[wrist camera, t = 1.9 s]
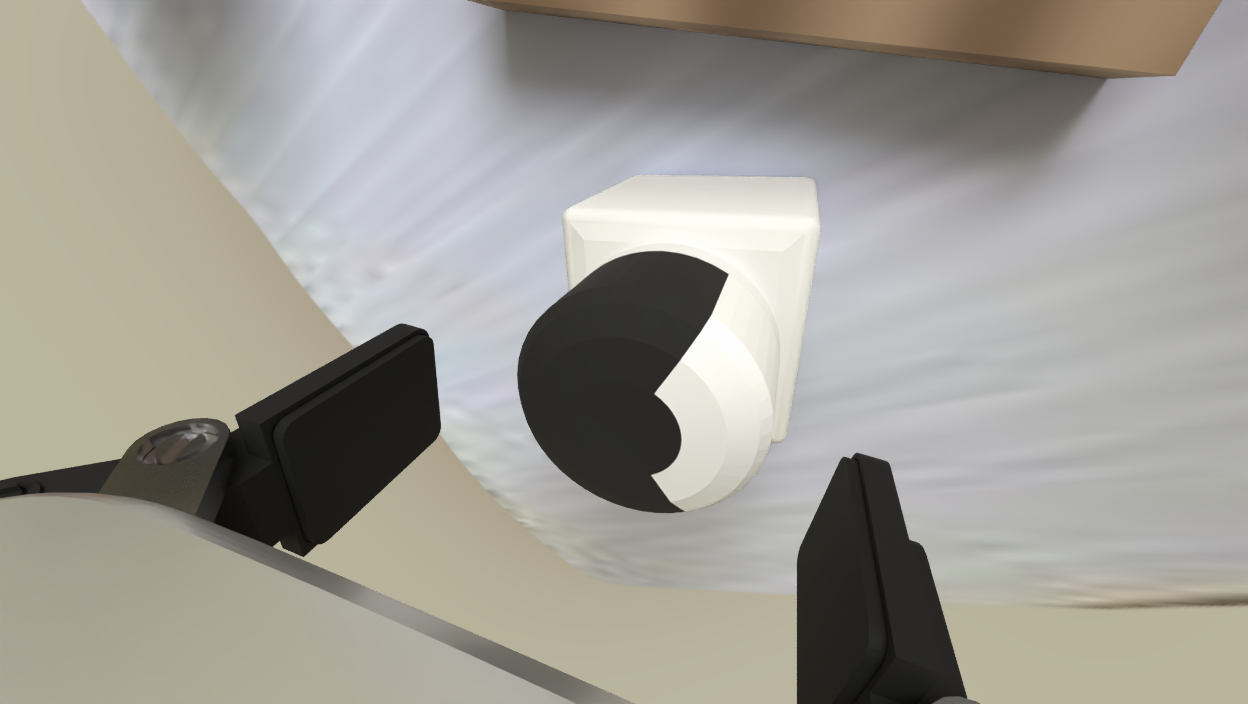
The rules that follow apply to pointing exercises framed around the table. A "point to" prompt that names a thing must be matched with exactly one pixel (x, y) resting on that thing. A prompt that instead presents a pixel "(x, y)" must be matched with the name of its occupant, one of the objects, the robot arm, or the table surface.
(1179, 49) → the brown piece
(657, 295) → the medicine bottle
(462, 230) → the table surface
